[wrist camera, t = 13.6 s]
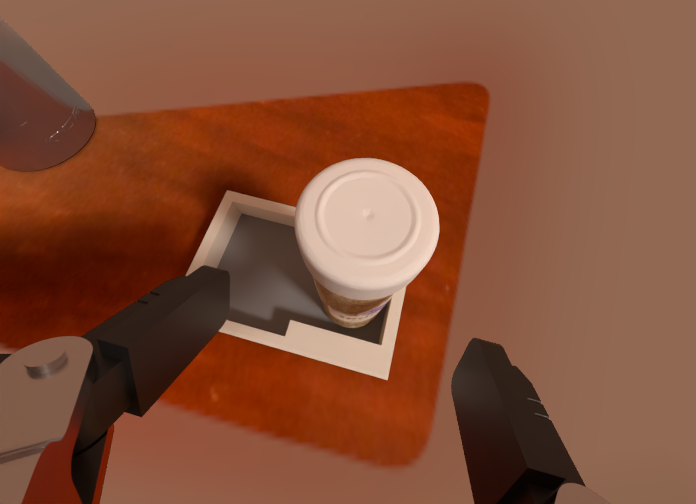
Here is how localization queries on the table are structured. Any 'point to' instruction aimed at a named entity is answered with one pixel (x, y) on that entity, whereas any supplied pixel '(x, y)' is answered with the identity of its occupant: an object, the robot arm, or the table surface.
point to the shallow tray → (286, 290)
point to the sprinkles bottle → (364, 235)
